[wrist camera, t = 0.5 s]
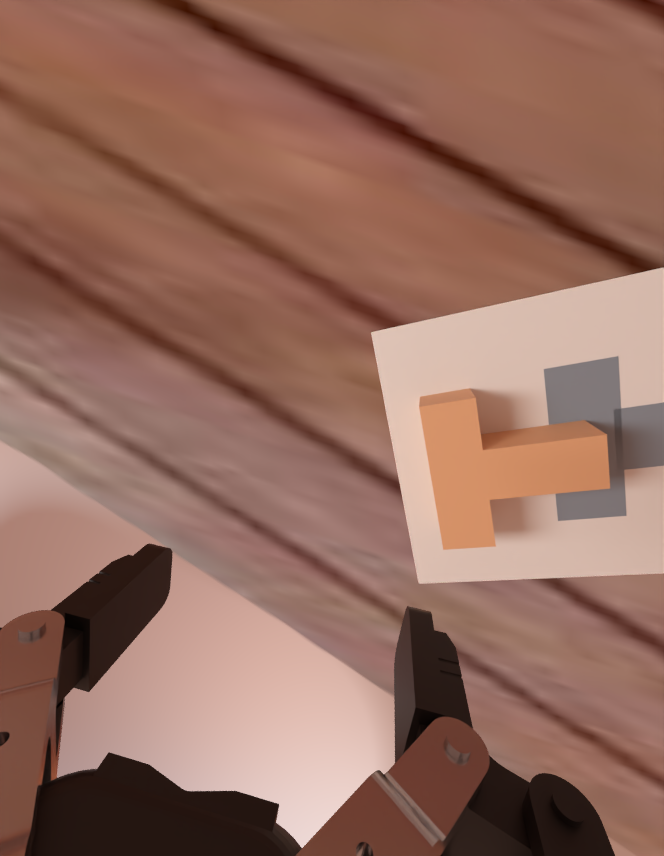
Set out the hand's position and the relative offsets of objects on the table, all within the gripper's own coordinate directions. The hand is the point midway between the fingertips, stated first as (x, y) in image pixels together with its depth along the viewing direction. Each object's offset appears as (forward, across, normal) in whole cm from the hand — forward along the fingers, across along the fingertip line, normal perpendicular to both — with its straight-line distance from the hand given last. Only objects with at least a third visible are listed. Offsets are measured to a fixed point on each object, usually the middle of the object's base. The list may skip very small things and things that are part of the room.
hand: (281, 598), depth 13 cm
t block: (+22, -13, -1) cm, 25 cm away
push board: (+22, -18, -4) cm, 29 cm away
